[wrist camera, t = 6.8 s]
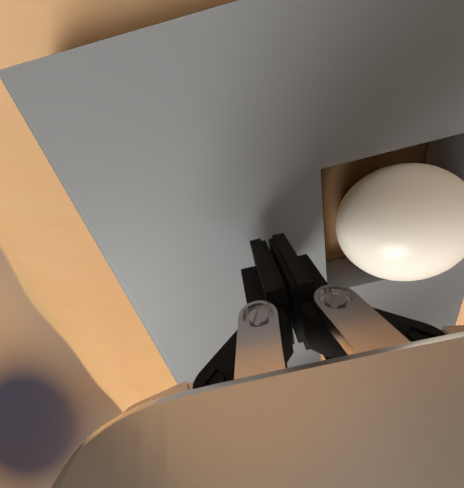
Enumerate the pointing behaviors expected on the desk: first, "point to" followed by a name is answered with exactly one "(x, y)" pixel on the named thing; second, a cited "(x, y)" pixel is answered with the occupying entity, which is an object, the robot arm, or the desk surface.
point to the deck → (244, 148)
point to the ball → (403, 222)
